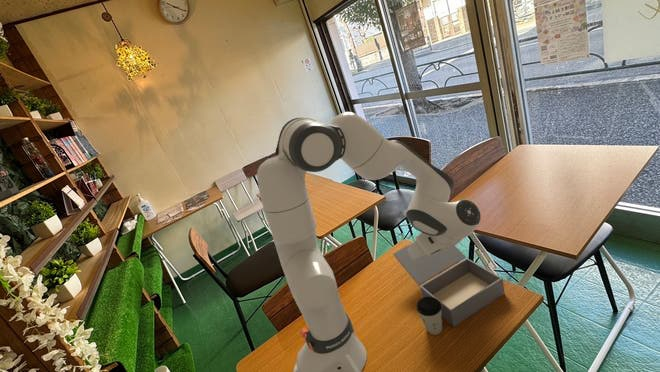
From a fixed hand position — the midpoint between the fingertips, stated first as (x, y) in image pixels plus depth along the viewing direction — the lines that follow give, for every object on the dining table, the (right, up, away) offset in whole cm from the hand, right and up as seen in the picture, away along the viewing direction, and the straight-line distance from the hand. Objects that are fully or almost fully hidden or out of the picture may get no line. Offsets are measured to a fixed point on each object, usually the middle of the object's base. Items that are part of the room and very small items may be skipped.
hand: (429, 246), depth 104 cm
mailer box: (+9, -15, -6) cm, 18 cm away
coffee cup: (-3, -22, -13) cm, 25 cm away
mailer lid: (+1, -4, +4) cm, 5 cm away
